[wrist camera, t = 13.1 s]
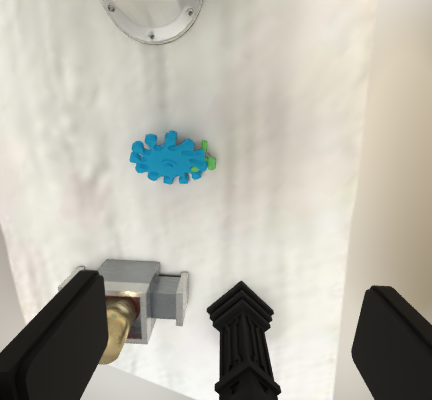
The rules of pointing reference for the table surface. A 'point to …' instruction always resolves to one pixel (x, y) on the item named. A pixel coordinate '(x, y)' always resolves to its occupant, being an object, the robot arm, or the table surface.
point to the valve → (144, 293)
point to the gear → (171, 158)
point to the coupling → (118, 325)
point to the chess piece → (243, 346)
